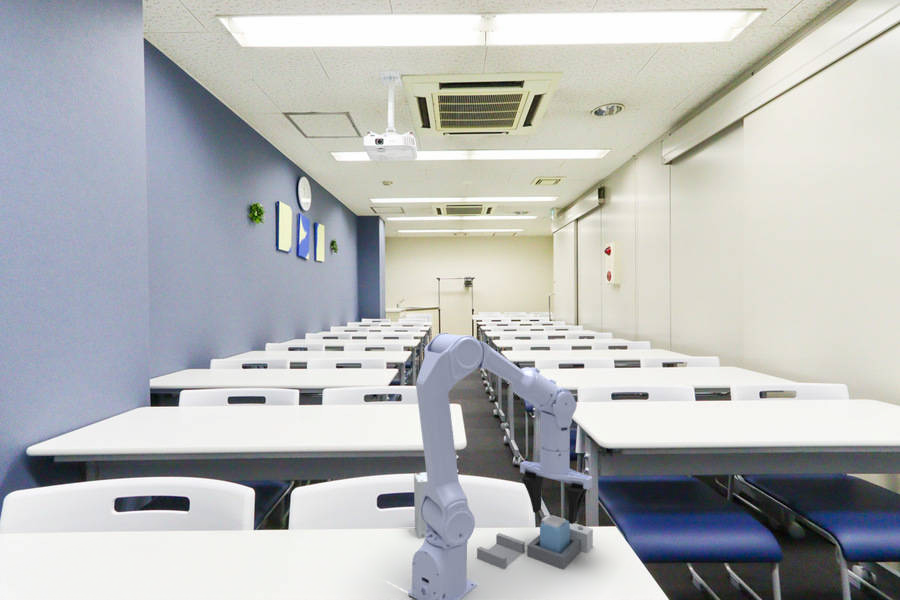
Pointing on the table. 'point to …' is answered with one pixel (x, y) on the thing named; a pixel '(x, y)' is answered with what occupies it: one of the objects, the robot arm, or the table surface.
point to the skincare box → (419, 502)
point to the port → (578, 542)
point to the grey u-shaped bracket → (502, 551)
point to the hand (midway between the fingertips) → (554, 516)
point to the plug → (555, 534)
